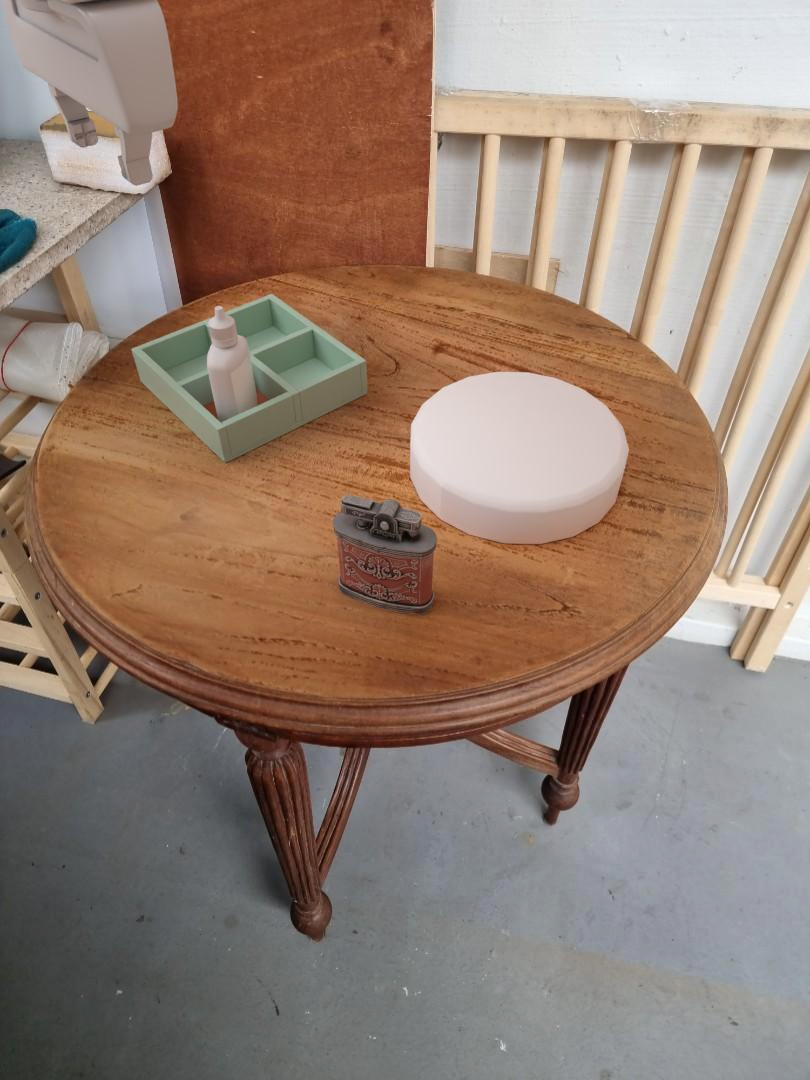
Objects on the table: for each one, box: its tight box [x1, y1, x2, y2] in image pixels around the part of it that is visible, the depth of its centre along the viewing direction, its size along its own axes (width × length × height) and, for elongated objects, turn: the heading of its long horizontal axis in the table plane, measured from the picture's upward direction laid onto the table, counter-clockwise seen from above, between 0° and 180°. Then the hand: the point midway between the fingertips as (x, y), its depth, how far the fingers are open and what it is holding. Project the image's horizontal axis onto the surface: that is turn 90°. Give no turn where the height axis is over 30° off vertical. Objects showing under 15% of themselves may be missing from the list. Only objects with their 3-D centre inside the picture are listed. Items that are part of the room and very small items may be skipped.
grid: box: [131, 293, 368, 464], centre depth 81 cm, size 17×17×4 cm
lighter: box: [332, 494, 438, 615], centre depth 60 cm, size 8×3×10 cm, turn 71°
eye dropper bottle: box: [207, 305, 258, 423], centre depth 74 cm, size 4×6×12 cm
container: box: [409, 371, 630, 545], centre depth 72 cm, size 20×20×5 cm
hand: (110, 161), depth 61 cm, fingers open, 8 cm apart
